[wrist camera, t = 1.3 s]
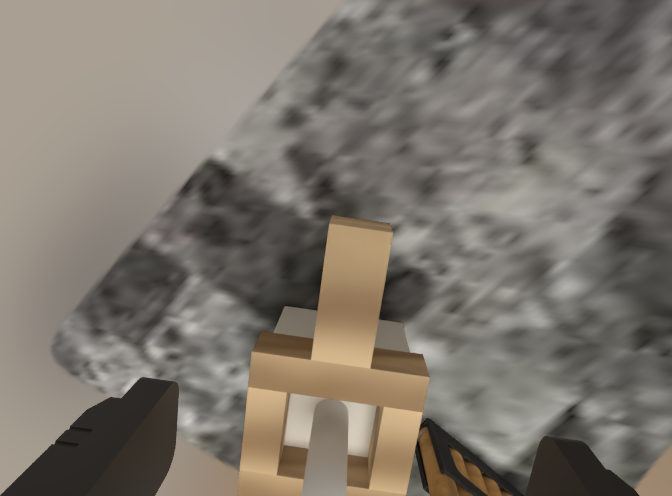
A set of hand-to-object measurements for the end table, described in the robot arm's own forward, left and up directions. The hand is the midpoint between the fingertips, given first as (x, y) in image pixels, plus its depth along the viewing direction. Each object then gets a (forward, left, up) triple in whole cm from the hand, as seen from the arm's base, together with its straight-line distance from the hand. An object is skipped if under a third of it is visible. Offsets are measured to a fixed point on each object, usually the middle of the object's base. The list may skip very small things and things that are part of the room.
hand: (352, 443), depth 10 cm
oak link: (+5, 0, -15) cm, 16 cm away
